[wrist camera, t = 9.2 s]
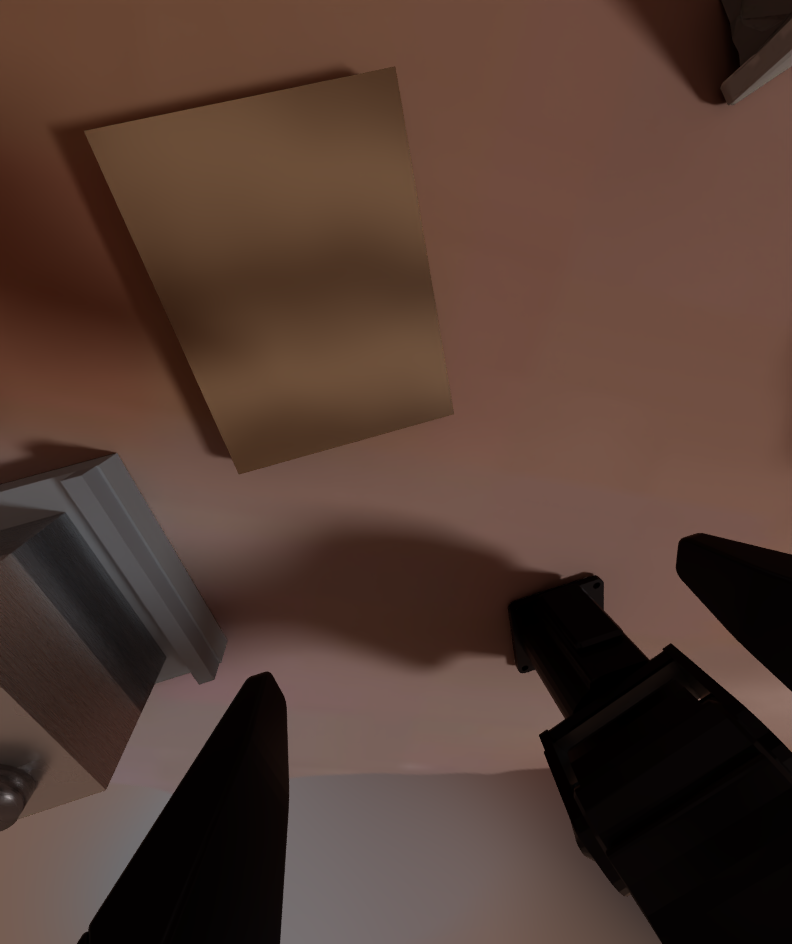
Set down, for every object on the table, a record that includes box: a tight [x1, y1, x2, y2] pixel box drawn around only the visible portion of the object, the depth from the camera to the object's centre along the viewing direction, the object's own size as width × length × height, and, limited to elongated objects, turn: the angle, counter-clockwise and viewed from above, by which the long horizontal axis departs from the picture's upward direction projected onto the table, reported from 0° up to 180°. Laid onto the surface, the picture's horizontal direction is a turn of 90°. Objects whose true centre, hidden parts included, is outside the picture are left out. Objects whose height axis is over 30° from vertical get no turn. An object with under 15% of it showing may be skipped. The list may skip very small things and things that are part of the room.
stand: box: [84, 67, 454, 474], centre depth 15 cm, size 12×10×2 cm
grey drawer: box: [0, 512, 167, 831], centre depth 14 cm, size 6×9×7 cm, turn 13°
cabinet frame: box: [0, 453, 227, 684], centre depth 18 cm, size 12×10×2 cm
